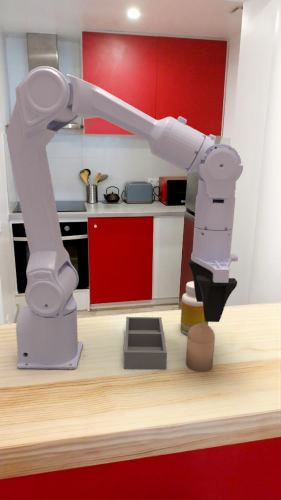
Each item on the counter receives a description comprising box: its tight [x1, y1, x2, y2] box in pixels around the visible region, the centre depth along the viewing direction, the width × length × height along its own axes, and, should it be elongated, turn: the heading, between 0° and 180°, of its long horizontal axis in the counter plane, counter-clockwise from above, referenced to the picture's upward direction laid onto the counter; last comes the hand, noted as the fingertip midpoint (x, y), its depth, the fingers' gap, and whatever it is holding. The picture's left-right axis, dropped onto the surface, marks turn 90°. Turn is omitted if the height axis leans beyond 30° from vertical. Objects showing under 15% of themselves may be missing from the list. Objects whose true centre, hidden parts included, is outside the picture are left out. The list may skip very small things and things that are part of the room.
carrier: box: [123, 316, 168, 370], centre depth 64 cm, size 7×13×3 cm, turn 1°
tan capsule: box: [185, 323, 216, 373], centre depth 59 cm, size 4×4×7 cm
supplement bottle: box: [179, 280, 209, 336], centre depth 70 cm, size 5×5×10 cm
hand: (207, 310), depth 58 cm, fingers open, 7 cm apart
